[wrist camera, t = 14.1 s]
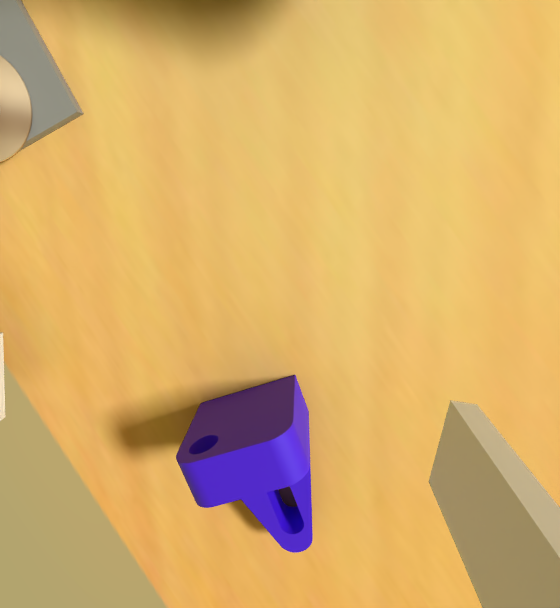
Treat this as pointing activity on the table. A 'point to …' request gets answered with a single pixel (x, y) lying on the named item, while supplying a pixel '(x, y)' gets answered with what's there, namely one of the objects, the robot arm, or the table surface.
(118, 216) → the table surface
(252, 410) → the bracket
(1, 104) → the pad
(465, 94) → the table surface
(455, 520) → the robot arm
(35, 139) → the board
